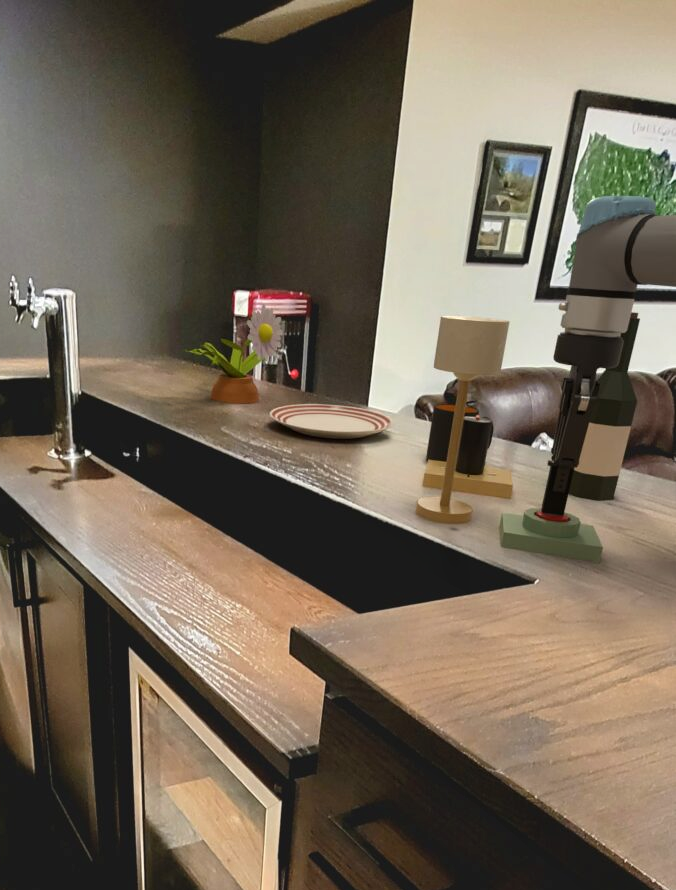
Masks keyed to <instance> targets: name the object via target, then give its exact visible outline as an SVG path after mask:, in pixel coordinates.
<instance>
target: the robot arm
mask: <svg viewBox="0 0 676 890" xmlns="http://www.w3.org/2000/svg"><path fill="white" fill-rule="evenodd" d="M656 206H657V205H656V200H655V199H653V198H651V197H647V196H641V195H640V196H638V195H603V196H598V197H597V196H596V197H593V199H591V200H590V201H588V203H587V204H586V206H585V208H584V212H583V215H582V218H581V223H580V225H579V230H578V233H577V234H576V242H575V248H574V254H573V261H572V266H571V274H570V279H569V283H568V287H567V291H566V296H565V300H566V302H563V301H562V302H560V303H559V304H558V308H557V309H558V310H559V311H562V314H561V315H562V316H561V321H560V327H561V328H562V329H564V331H561V332H560V333H559V334H557V337H556V342H555V348H554V353H553V360H554V362H555V363H557V364H561V365H564V366H570V370H569V373H568V377H567V376H566V377H565V376H563V377H562V381H561V385H560V389H561V395H560V400H559V404H558V415H557V420H556V426H555V431H554V437H553V443H552V447H551V448H550V453H551V458H550V459H551V460H549V459H548V460H547V467H549V471H548V475H547V480H546V485H545V489H544V494H543V498H542V504H541V507H540V508H541V511H542V513H549V514H555V515H562V516H564V512H565V511H566V507H567V502H568V498H569V495H570V494H569V490H570V485H571V481H572V476H573V472H574V468H575V467H576V468H577V467H578V465H579V459H580V455H581V451H582V448H583V444H584V440H585V437H586V433H587V429H588V426H589V422H590V418H591V415H592V412H593V409H594V406H595V404H596V403H597V400H596V399H597V397H596V396H597V395H598V392H599V387H600V383H597V380H596V379H597V373H598V370H599V369H604V370H606V369H609V368H615V367H617V366H618V364H619V361H620V357H621V352H622V348H623V344H624V340H623V338H622V337H620V335H621V333H625V332H626V331H627V328H628V324H629V320H630V316H631V312H633V311H632V310H633V307H634V303H635V297H636V292H637V289H638V285H639V286H661V287H671V288H676V214H656ZM563 311H564V312H563Z"/></svg>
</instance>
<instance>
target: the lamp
mask: <svg viewBox="0 0 676 890" xmlns="http://www.w3.org/2000/svg"><path fill="white" fill-rule="evenodd" d="M509 327H510V320H507V319H499V318H491V317H480V316H466V315H465V316H464V315H441V316H440V320H439V327H438V333H437V340H436V346H435V347H436V348H435V353H434V360H433V368H434V369H435V370H438V371H443V372H447V373H453V375H454V377H455V378H457V379H458V380H459V381H458V388H457V394H456V401H455V405H456V406H455V412H454V418H453V424H452V431H451V437H450V443H449V449H448V455H447V462H446V468H445V474H444V480H443V487H442V489H441V493H440V494H441V495H440V496H425V497H421V498H419V499H417V501H416V506H415V514H416V515H418V516H419V517H420V518H423V519H425V520H428V521H431V522H435V523H441V524H448V525H458V524H459V525H461V524H466V523H469V522H470V521H471V520H472V514H473V507H472V506H471V504H468V503H466V502H464V501H461V500H459V499H453V498H452V493H453V491H452V487H453V481H454V475H455V469H456V463H457V457H458V450H459V444H460V438H461V432H462V426H463V420H464V414H465V408H466V406H467V403H468V396H469V389H470V383H471V381H473V380H475V379H477V378H478V377H479V376H497V375H500V374H501V373H502V366H503V361H504V355H505V350H506V344H507V338H508V333H509V329H510V328H509Z"/></svg>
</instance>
